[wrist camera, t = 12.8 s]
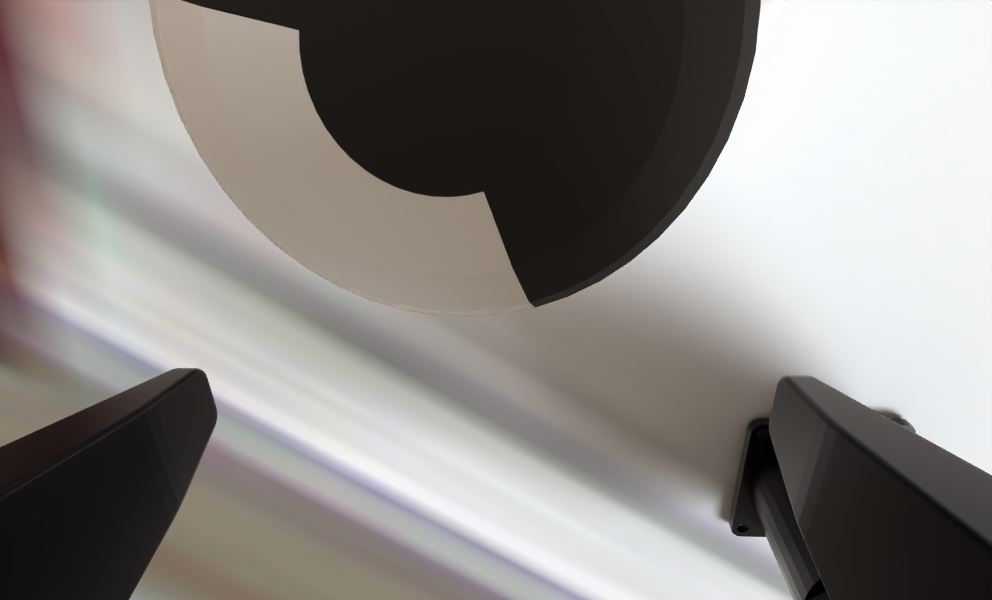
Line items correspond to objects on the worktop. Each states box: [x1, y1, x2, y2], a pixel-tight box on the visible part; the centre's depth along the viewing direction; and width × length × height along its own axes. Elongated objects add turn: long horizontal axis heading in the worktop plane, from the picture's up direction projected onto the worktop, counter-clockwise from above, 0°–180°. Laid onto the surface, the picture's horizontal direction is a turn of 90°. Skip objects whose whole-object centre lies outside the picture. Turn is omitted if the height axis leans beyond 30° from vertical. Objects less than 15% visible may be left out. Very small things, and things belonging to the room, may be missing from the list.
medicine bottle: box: [149, 0, 785, 316], centre depth 11 cm, size 7×7×12 cm
